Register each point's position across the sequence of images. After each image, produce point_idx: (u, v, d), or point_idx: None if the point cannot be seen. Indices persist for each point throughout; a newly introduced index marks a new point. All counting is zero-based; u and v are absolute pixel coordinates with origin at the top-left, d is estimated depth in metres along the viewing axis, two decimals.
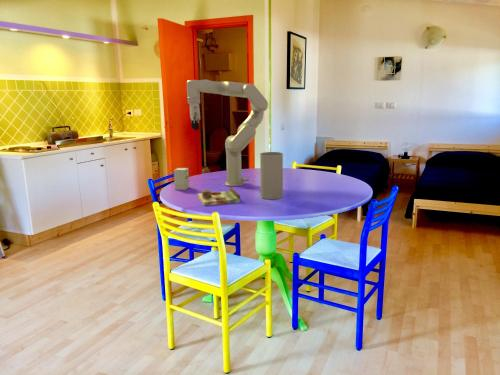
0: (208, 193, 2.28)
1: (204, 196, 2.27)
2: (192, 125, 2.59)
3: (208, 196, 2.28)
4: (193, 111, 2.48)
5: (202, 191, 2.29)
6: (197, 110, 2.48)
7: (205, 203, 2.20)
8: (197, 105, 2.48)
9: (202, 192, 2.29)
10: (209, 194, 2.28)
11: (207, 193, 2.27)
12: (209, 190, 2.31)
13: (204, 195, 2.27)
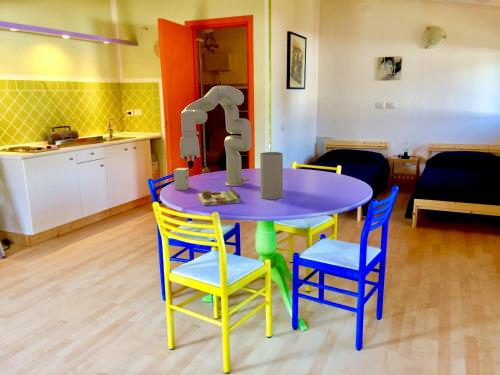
0: (208, 193, 2.28)
1: (204, 196, 2.27)
2: None
3: (208, 196, 2.28)
4: None
5: (202, 191, 2.29)
6: None
7: (205, 203, 2.20)
8: None
9: (202, 192, 2.29)
10: (209, 194, 2.28)
11: (207, 193, 2.27)
12: (209, 190, 2.31)
13: (204, 195, 2.27)
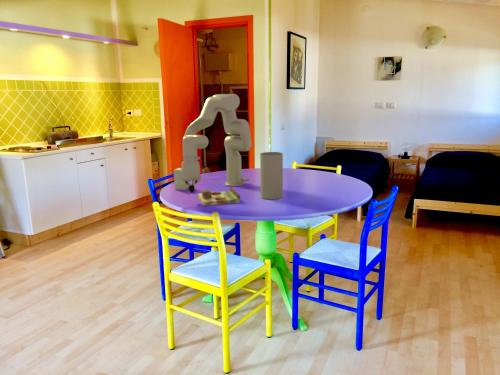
0: (208, 193, 2.28)
1: (204, 196, 2.27)
2: None
3: (208, 196, 2.28)
4: None
5: (202, 191, 2.29)
6: None
7: (205, 203, 2.20)
8: None
9: (202, 192, 2.29)
10: (209, 194, 2.28)
11: (207, 193, 2.27)
12: (209, 190, 2.31)
13: (204, 195, 2.27)
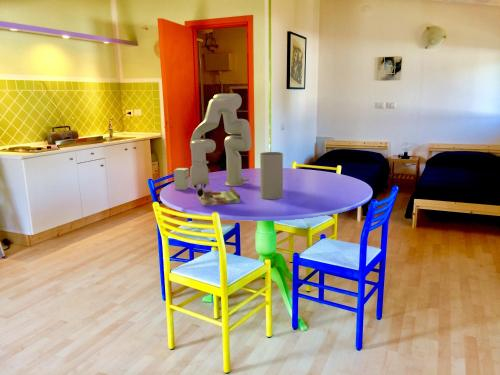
0: (209, 193, 2.28)
1: (205, 196, 2.28)
2: None
3: (209, 196, 2.28)
4: (208, 174, 2.26)
5: (203, 191, 2.29)
6: None
7: (205, 203, 2.20)
8: None
9: (203, 192, 2.29)
10: (210, 194, 2.28)
11: (208, 193, 2.28)
12: (210, 190, 2.31)
13: (205, 195, 2.27)
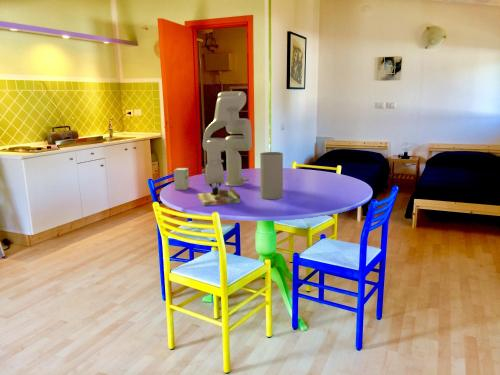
0: (224, 192, 2.29)
1: (220, 195, 2.29)
2: None
3: (224, 195, 2.30)
4: (223, 173, 2.28)
5: (219, 190, 2.31)
6: None
7: (205, 203, 2.20)
8: None
9: (219, 191, 2.31)
10: (225, 193, 2.30)
11: (223, 192, 2.29)
12: (225, 189, 2.32)
13: (220, 194, 2.29)
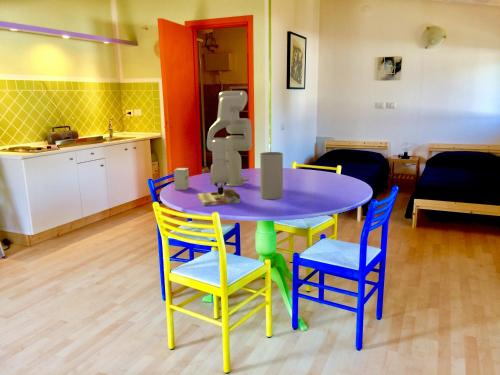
0: (230, 191, 2.30)
1: (226, 194, 2.30)
2: None
3: (230, 194, 2.31)
4: (228, 172, 2.29)
5: (224, 189, 2.32)
6: None
7: (205, 203, 2.20)
8: None
9: (224, 190, 2.32)
10: (231, 192, 2.30)
11: (229, 191, 2.30)
12: None
13: (226, 193, 2.30)
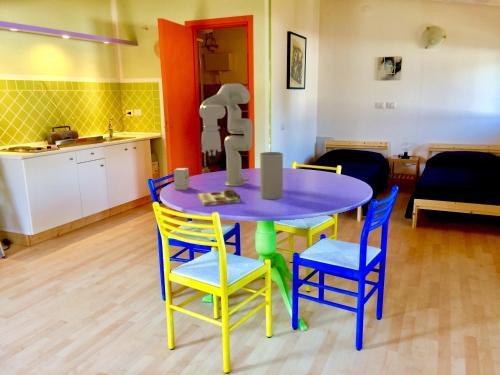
0: (230, 191, 2.30)
1: (226, 194, 2.30)
2: None
3: (230, 194, 2.31)
4: None
5: (224, 189, 2.32)
6: None
7: (205, 203, 2.20)
8: None
9: (224, 190, 2.32)
10: (231, 192, 2.30)
11: (229, 191, 2.30)
12: None
13: (226, 193, 2.30)
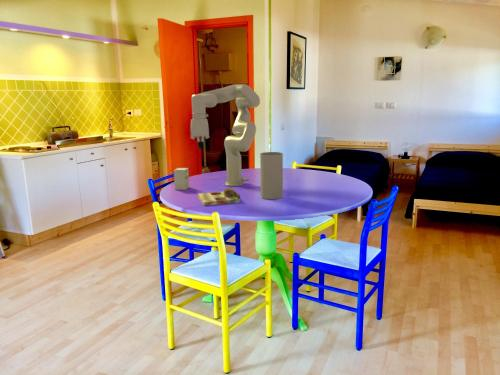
0: (230, 191, 2.30)
1: (226, 194, 2.30)
2: None
3: (230, 194, 2.31)
4: None
5: (224, 189, 2.32)
6: None
7: (205, 203, 2.20)
8: None
9: (224, 190, 2.32)
10: (231, 192, 2.30)
11: (229, 191, 2.30)
12: None
13: (226, 193, 2.30)
